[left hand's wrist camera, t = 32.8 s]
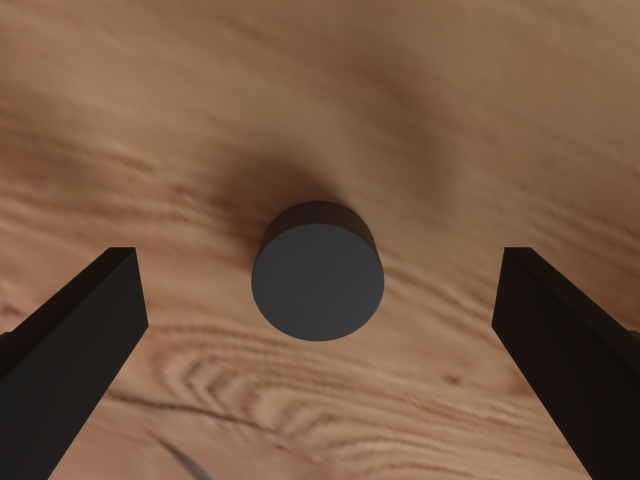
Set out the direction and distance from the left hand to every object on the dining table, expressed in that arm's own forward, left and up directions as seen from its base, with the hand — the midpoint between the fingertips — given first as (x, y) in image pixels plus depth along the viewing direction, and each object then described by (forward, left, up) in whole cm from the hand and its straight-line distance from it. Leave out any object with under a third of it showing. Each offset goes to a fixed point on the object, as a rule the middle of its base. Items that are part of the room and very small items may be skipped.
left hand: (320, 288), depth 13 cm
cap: (0, 0, -1) cm, 1 cm away
